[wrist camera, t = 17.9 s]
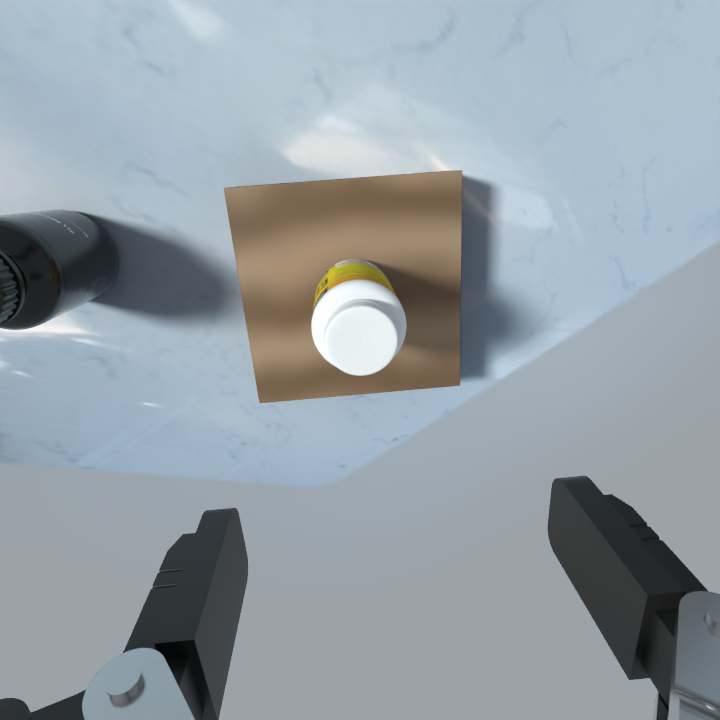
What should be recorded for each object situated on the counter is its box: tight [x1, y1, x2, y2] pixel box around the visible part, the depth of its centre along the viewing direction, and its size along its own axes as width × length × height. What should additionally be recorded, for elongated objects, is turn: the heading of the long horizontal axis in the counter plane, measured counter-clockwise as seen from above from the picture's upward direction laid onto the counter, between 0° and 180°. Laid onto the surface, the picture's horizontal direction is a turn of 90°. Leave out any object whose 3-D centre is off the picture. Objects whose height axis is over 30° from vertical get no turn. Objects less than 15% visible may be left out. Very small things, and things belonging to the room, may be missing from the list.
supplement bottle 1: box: [0, 210, 118, 330], centre depth 30 cm, size 7×7×12 cm
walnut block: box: [224, 170, 462, 403], centre depth 36 cm, size 16×16×4 cm
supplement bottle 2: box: [311, 259, 406, 376], centre depth 29 cm, size 6×6×10 cm
